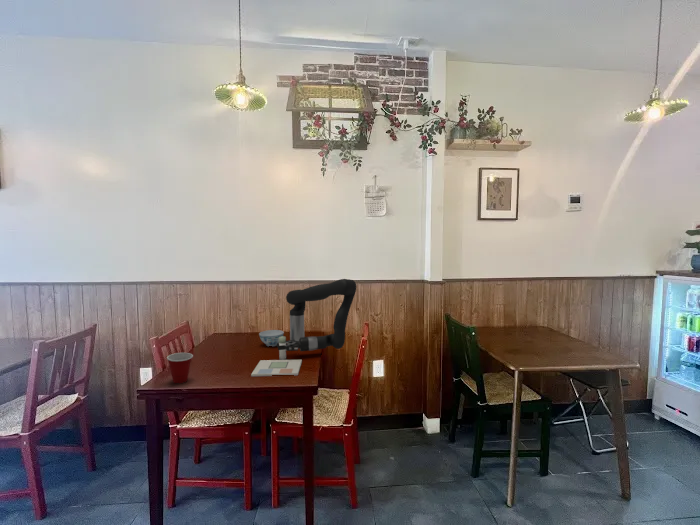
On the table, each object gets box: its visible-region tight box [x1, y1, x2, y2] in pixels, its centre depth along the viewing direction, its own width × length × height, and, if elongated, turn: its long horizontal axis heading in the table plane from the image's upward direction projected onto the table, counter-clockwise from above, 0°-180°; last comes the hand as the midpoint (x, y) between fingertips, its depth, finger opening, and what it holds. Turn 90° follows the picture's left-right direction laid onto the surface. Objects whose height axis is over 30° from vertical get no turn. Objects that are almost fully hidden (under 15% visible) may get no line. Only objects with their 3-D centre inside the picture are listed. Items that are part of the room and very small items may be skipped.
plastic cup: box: [166, 352, 194, 384], centre depth 159 cm, size 11×11×12 cm
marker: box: [278, 335, 287, 360], centre depth 189 cm, size 4×4×12 cm
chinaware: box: [258, 329, 285, 347], centre depth 216 cm, size 15×15×8 cm
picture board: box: [250, 359, 303, 377], centre depth 175 cm, size 20×22×1 cm
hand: (277, 346), depth 188 cm, fingers open, 5 cm apart
